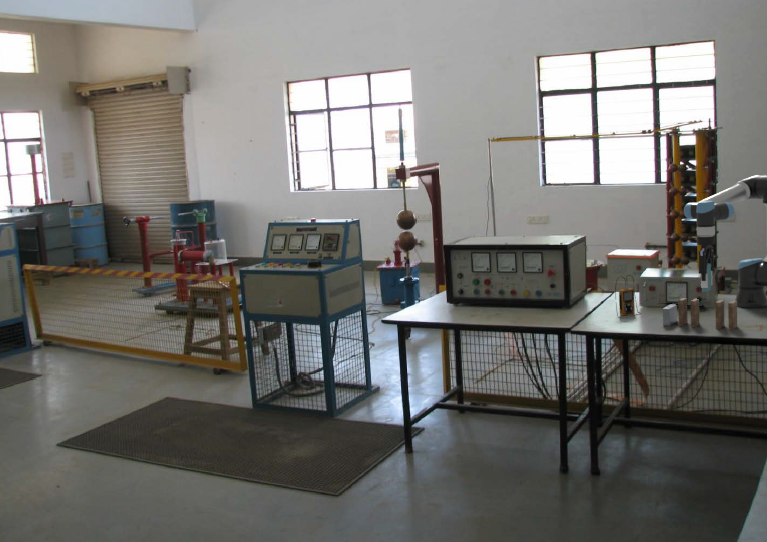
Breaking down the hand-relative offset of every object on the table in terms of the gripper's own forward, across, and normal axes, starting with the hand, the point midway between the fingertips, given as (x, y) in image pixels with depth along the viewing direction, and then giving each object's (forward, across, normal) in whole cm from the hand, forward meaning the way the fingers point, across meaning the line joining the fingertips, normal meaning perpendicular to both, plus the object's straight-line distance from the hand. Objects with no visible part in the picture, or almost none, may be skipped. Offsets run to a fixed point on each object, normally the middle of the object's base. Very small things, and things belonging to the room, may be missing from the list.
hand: (706, 286), depth 357 cm
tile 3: (+2, 0, 0) cm, 2 cm away
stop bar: (+19, 0, -17) cm, 25 cm away
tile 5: (+19, 0, -11) cm, 22 cm away
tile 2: (+19, 0, +6) cm, 19 cm away
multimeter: (+19, -9, -39) cm, 44 cm away
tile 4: (+19, 0, -6) cm, 19 cm away
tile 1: (+19, 0, +11) cm, 22 cm away
